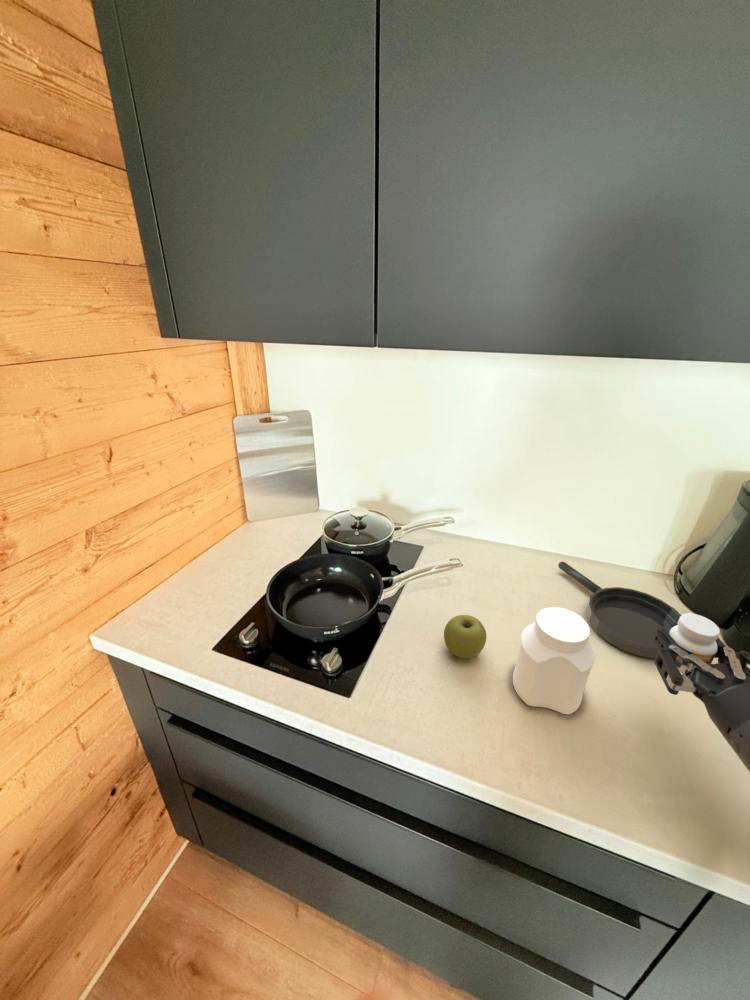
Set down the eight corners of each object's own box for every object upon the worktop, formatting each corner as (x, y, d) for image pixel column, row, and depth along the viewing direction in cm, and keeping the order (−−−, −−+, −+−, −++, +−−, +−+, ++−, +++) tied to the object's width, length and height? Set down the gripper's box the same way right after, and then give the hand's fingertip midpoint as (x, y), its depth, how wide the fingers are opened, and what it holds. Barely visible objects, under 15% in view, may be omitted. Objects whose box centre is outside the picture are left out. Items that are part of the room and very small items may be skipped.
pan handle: (561, 565, 107) (563, 559, 106) (604, 596, 96) (606, 589, 95) (555, 567, 106) (557, 561, 105) (598, 599, 95) (600, 591, 94)
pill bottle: (686, 696, 60) (710, 644, 56) (647, 668, 65) (666, 618, 61) (709, 681, 63) (733, 630, 58) (670, 655, 67) (690, 606, 63)
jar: (577, 674, 78) (596, 611, 71) (584, 719, 70) (607, 653, 63) (512, 660, 81) (524, 598, 74) (512, 702, 73) (526, 637, 66)
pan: (626, 590, 100) (630, 579, 98) (705, 644, 85) (711, 632, 83) (567, 610, 94) (570, 599, 92) (641, 672, 79) (646, 659, 77)
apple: (483, 669, 79) (488, 641, 76) (440, 662, 81) (443, 634, 78) (483, 640, 86) (487, 613, 83) (443, 634, 87) (446, 607, 84)
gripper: (849, 719, 46) (739, 614, 61) (713, 713, 47) (637, 611, 62) (818, 762, 50) (721, 652, 65) (691, 755, 50) (624, 649, 65)
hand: (680, 632), depth 63 cm, fingers closed on pill bottle, 5 cm apart
